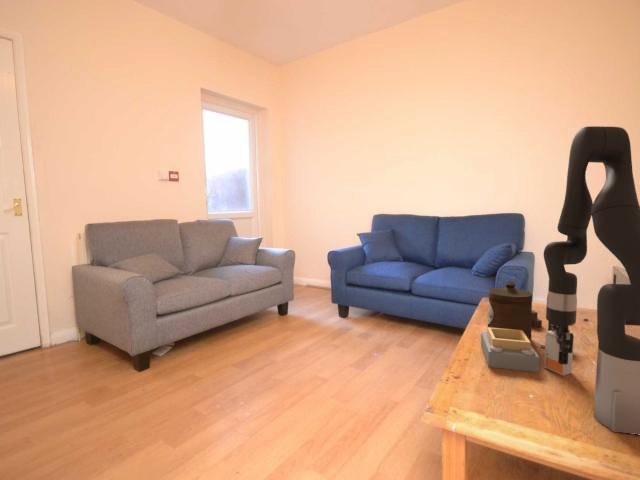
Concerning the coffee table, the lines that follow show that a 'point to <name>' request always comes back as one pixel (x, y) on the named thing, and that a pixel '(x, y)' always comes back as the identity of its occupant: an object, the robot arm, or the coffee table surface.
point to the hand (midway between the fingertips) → (558, 357)
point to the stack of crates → (536, 320)
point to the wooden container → (510, 309)
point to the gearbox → (509, 350)
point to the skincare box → (556, 356)
